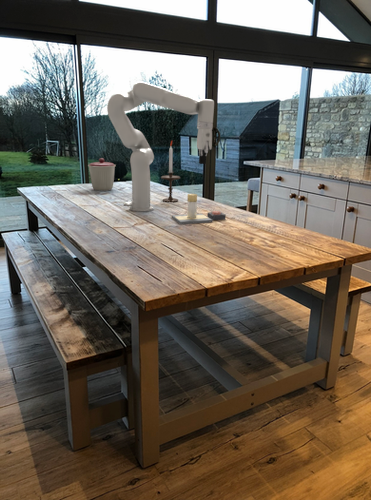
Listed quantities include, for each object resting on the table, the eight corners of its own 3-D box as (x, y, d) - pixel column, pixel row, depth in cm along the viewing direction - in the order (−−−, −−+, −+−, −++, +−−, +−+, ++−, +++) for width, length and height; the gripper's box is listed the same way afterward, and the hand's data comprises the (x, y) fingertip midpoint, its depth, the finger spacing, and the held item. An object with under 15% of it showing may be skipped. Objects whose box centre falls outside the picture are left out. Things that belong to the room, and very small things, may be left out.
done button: (214, 219, 200) (214, 213, 199) (211, 217, 203) (211, 211, 202) (221, 218, 201) (221, 212, 200) (218, 216, 204) (218, 210, 204)
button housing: (212, 220, 198) (212, 215, 197) (207, 217, 204) (207, 212, 203) (225, 219, 200) (225, 214, 199) (219, 216, 206) (220, 211, 206)
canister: (90, 187, 284) (89, 156, 278) (117, 187, 286) (116, 157, 280) (87, 192, 267) (85, 159, 261) (115, 192, 269) (114, 159, 263)
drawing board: (180, 224, 189) (180, 221, 189) (171, 217, 202) (171, 215, 201) (212, 222, 194) (212, 219, 194) (201, 215, 207) (201, 213, 206)
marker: (188, 218, 195) (189, 195, 192) (185, 216, 199) (186, 194, 196) (197, 218, 196) (198, 195, 193) (194, 216, 200) (195, 193, 197)
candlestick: (176, 199, 250) (177, 139, 239) (181, 202, 240) (183, 140, 229) (159, 199, 246) (159, 139, 236) (164, 203, 236) (164, 140, 226)
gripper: (217, 127, 195) (214, 165, 201) (206, 125, 209) (204, 162, 214) (202, 126, 193) (200, 165, 199) (192, 125, 207) (190, 161, 212)
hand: (202, 163), depth 207 cm, fingers closed
